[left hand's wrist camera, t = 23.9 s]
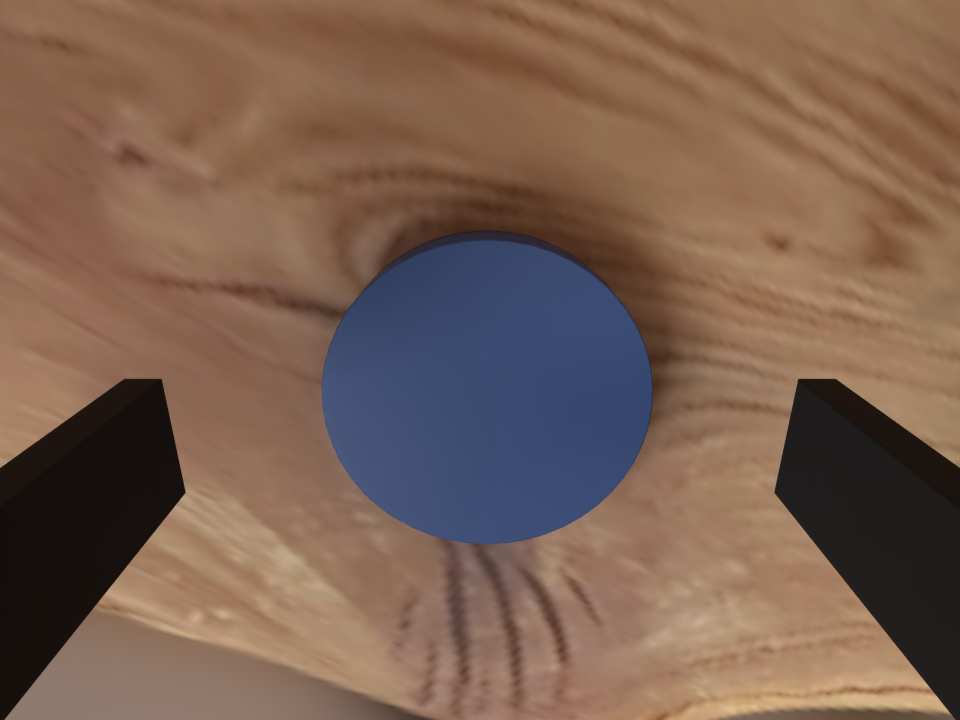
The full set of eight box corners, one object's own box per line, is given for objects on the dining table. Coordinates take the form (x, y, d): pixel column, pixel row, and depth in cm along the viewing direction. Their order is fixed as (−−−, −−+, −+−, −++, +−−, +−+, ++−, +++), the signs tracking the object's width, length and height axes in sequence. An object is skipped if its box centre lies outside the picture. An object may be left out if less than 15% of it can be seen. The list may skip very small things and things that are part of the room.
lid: (414, 548, 20) (408, 582, 18) (280, 305, 17) (260, 321, 16) (675, 454, 19) (693, 483, 17) (577, 177, 16) (588, 180, 14)
